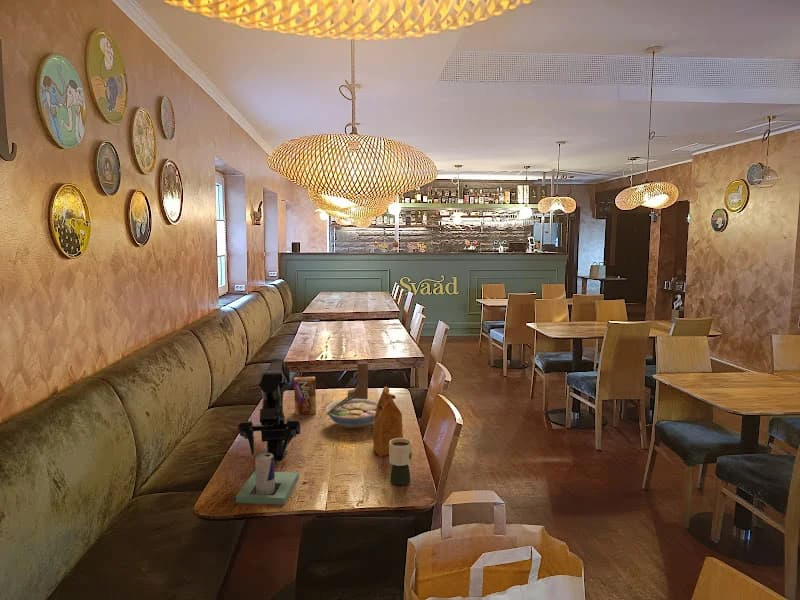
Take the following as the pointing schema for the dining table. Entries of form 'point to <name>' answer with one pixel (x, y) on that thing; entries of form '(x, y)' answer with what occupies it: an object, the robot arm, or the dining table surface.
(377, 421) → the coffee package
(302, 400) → the candy box
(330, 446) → the dining table surface
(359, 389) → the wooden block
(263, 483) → the energy drink
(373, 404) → the ramen bowl
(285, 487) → the socket board
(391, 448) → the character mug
